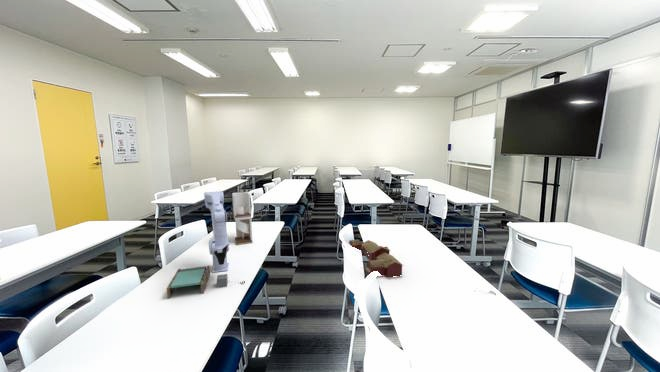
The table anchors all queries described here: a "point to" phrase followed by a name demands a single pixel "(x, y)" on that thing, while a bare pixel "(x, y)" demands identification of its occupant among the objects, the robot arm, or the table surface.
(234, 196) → the display case
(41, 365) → the table surface
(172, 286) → the trapdoor
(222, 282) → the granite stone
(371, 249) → the toy houses
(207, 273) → the frame
